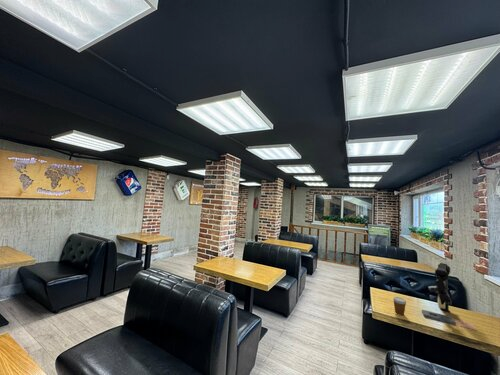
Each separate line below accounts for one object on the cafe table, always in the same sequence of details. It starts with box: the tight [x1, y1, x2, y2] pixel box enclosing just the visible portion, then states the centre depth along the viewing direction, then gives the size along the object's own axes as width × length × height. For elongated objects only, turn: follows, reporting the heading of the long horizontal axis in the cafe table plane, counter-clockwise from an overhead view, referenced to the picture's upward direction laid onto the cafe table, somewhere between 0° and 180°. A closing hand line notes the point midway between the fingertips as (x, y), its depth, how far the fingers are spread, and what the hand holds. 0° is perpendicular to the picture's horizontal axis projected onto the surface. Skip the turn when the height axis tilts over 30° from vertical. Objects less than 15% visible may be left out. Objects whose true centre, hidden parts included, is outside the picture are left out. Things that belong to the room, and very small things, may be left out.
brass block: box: [437, 296, 445, 309], centre depth 175 cm, size 4×4×8 cm
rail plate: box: [421, 309, 457, 326], centre depth 175 cm, size 10×20×2 cm, turn 60°
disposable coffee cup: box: [392, 296, 407, 316], centre depth 179 cm, size 10×10×12 cm
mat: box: [454, 319, 478, 331], centre depth 166 cm, size 10×10×1 cm
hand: (441, 303), depth 175 cm, fingers closed on brass block, 4 cm apart
